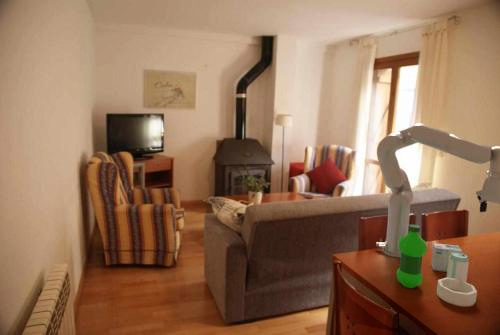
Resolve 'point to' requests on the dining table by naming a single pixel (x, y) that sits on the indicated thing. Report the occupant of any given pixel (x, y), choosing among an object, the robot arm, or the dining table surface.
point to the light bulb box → (442, 255)
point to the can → (458, 266)
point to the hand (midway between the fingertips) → (493, 215)
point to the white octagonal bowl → (456, 292)
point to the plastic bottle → (411, 257)
